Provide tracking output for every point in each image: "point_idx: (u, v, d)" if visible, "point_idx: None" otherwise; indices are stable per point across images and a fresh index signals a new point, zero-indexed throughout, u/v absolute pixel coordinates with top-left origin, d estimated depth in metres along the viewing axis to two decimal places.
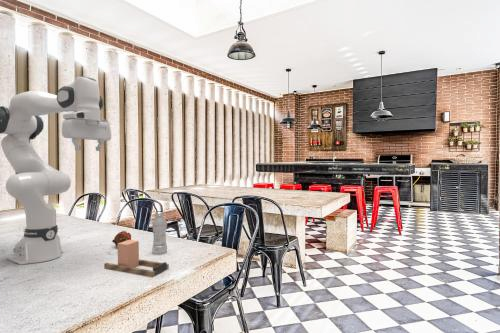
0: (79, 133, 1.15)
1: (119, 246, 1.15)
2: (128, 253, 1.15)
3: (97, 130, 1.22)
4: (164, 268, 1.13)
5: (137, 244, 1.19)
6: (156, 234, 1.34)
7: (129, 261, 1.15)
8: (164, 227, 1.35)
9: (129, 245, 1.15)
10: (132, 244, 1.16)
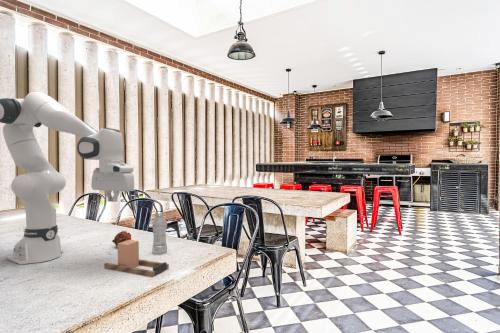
0: None
1: (119, 246, 1.15)
2: (128, 253, 1.15)
3: None
4: (164, 268, 1.13)
5: (137, 244, 1.19)
6: (156, 234, 1.34)
7: (129, 261, 1.15)
8: (164, 227, 1.35)
9: (129, 245, 1.15)
10: (132, 244, 1.16)
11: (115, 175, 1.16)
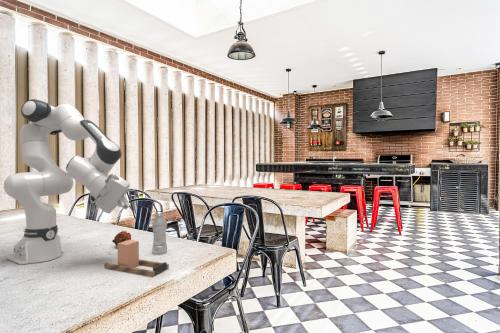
0: (108, 206, 1.26)
1: (119, 246, 1.15)
2: (128, 253, 1.15)
3: (112, 193, 1.21)
4: (164, 268, 1.13)
5: (137, 244, 1.19)
6: (156, 234, 1.34)
7: (129, 261, 1.15)
8: (164, 227, 1.35)
9: (129, 245, 1.15)
10: (132, 244, 1.16)
11: None
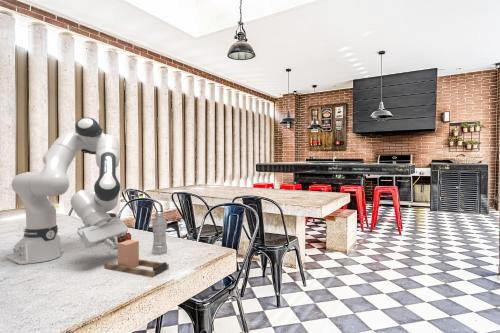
0: None
1: (119, 246, 1.15)
2: (128, 253, 1.15)
3: None
4: (164, 268, 1.13)
5: (137, 244, 1.19)
6: (156, 234, 1.34)
7: (129, 261, 1.15)
8: (164, 227, 1.35)
9: (129, 245, 1.15)
10: (132, 244, 1.16)
11: (112, 221, 1.28)
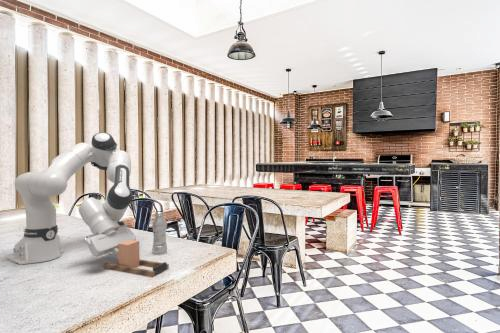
0: None
1: (120, 246, 1.15)
2: (129, 253, 1.14)
3: None
4: (164, 268, 1.13)
5: (137, 244, 1.19)
6: (156, 234, 1.34)
7: (129, 261, 1.15)
8: (164, 227, 1.35)
9: (130, 245, 1.15)
10: (133, 244, 1.16)
11: (120, 229, 1.25)
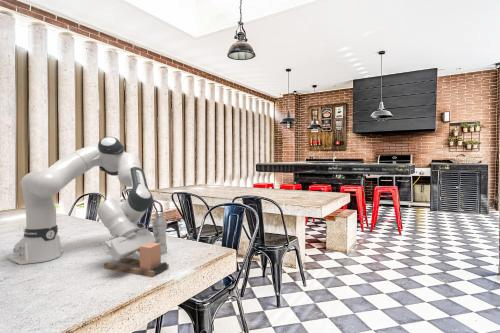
0: None
1: (141, 249, 1.11)
2: (151, 257, 1.10)
3: None
4: (164, 268, 1.13)
5: (159, 247, 1.14)
6: (156, 234, 1.34)
7: (151, 264, 1.11)
8: (164, 227, 1.35)
9: (152, 248, 1.11)
10: (154, 247, 1.12)
11: (140, 232, 1.21)
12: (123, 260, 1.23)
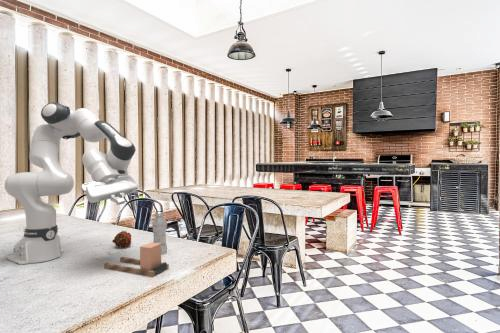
0: None
1: (142, 249, 1.11)
2: (151, 257, 1.10)
3: None
4: (164, 268, 1.13)
5: (159, 247, 1.14)
6: (156, 234, 1.34)
7: (152, 264, 1.10)
8: (164, 227, 1.35)
9: (152, 248, 1.11)
10: (155, 247, 1.12)
11: (120, 178, 1.24)
12: (123, 260, 1.23)
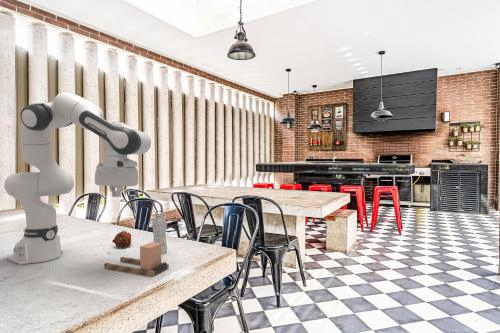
0: None
1: (142, 249, 1.11)
2: (151, 257, 1.10)
3: None
4: (164, 268, 1.13)
5: (159, 247, 1.14)
6: (156, 234, 1.34)
7: (152, 264, 1.10)
8: (164, 227, 1.35)
9: (152, 248, 1.11)
10: (155, 247, 1.12)
11: (119, 170, 1.15)
12: (123, 260, 1.23)
